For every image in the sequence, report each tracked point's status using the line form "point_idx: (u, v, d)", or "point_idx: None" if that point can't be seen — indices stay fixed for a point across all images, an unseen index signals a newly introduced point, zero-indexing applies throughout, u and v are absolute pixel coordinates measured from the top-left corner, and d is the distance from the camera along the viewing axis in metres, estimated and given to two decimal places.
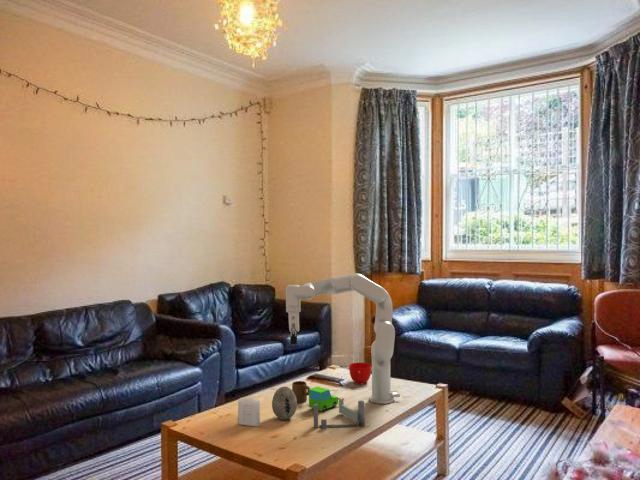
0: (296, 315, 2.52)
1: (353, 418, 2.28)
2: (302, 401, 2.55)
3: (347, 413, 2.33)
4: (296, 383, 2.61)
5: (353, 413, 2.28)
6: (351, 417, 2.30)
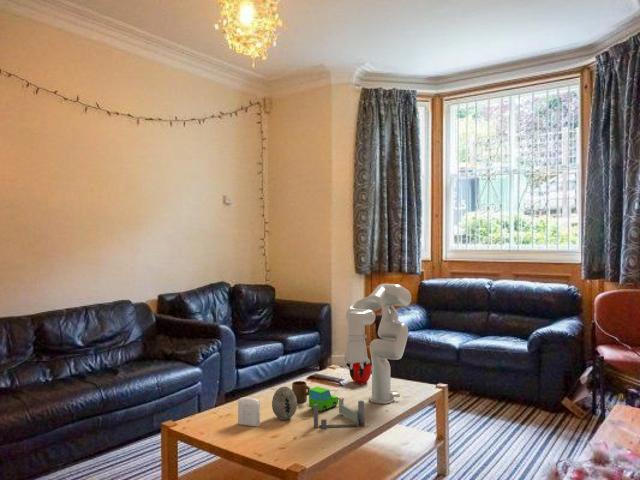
0: None
1: (353, 418, 2.28)
2: (302, 401, 2.55)
3: (347, 413, 2.33)
4: (296, 383, 2.61)
5: (353, 413, 2.28)
6: (351, 417, 2.30)
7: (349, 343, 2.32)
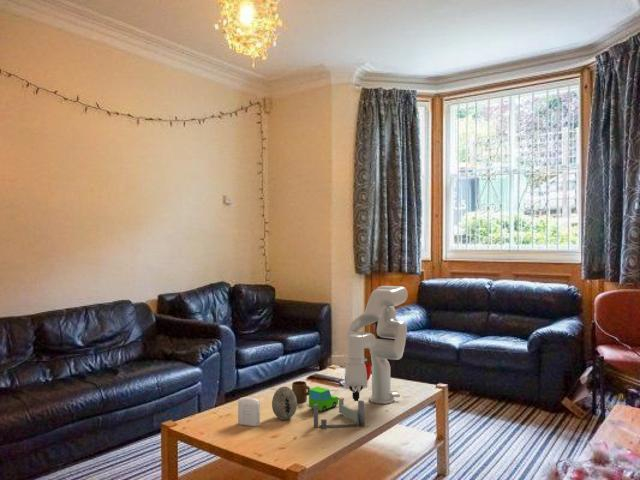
0: None
1: (353, 418, 2.28)
2: (302, 401, 2.55)
3: (347, 413, 2.33)
4: (296, 383, 2.61)
5: (353, 413, 2.28)
6: (351, 417, 2.30)
7: (349, 366, 2.32)
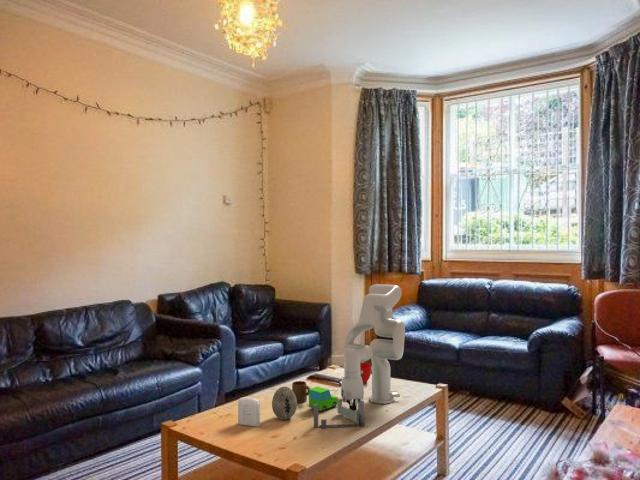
0: None
1: (353, 418, 2.28)
2: (302, 401, 2.55)
3: (346, 413, 2.32)
4: (296, 383, 2.61)
5: (353, 413, 2.28)
6: (350, 417, 2.29)
7: (347, 380, 2.30)
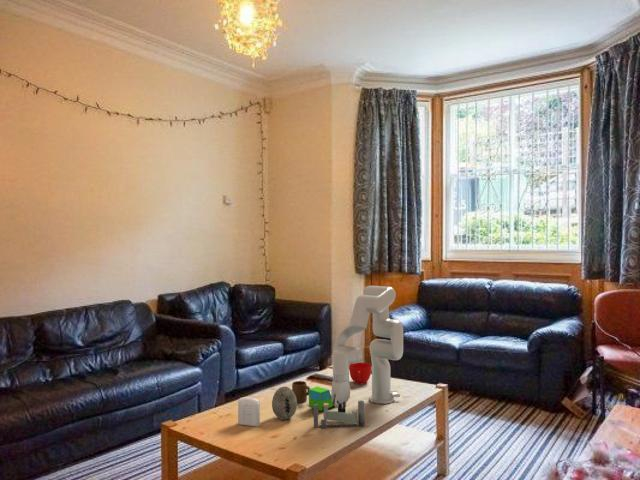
0: None
1: (349, 420, 2.25)
2: (302, 401, 2.55)
3: (338, 417, 2.27)
4: (296, 383, 2.61)
5: (349, 415, 2.25)
6: (345, 420, 2.26)
7: (341, 384, 2.26)
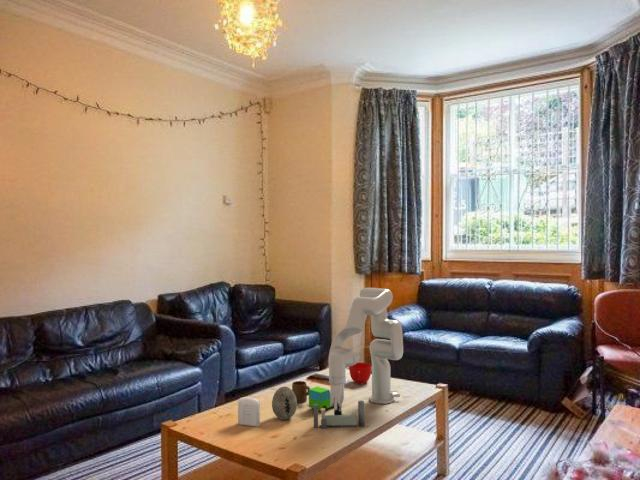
0: None
1: (348, 422, 2.23)
2: (302, 401, 2.55)
3: (337, 421, 2.23)
4: (296, 383, 2.61)
5: (349, 417, 2.23)
6: (345, 423, 2.23)
7: (340, 386, 2.22)
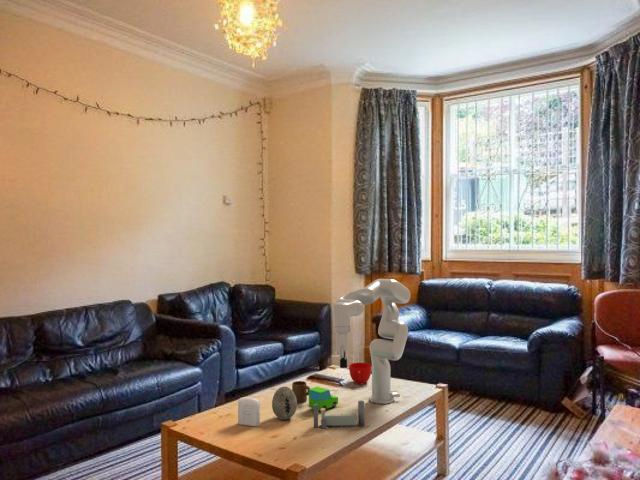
0: None
1: (348, 422, 2.23)
2: (302, 401, 2.55)
3: (337, 421, 2.23)
4: (296, 383, 2.61)
5: (349, 417, 2.23)
6: (345, 423, 2.23)
7: (346, 334, 2.30)
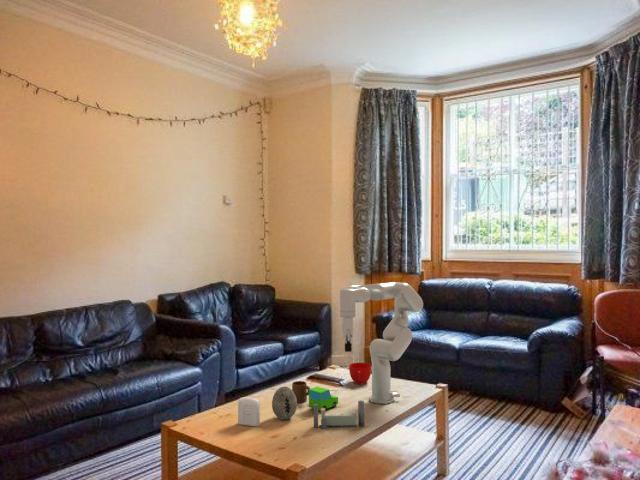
0: None
1: (348, 422, 2.23)
2: (302, 401, 2.55)
3: (337, 421, 2.23)
4: (296, 383, 2.61)
5: (349, 417, 2.23)
6: (345, 423, 2.23)
7: (352, 319, 2.40)
